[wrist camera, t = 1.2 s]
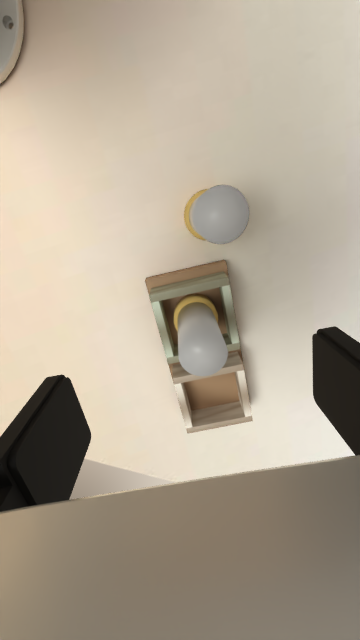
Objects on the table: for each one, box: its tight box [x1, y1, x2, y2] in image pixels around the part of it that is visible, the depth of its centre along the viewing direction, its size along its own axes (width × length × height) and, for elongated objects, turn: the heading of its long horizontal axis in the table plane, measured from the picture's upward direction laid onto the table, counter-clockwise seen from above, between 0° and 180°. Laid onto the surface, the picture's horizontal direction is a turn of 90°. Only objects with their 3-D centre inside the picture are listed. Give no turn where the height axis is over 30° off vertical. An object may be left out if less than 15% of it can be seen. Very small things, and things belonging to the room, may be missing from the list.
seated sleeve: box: [174, 293, 228, 376], centre depth 27 cm, size 5×5×10 cm
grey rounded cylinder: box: [184, 185, 249, 244], centre depth 25 cm, size 5×5×10 cm
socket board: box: [145, 260, 253, 433], centre depth 33 cm, size 20×9×4 cm, turn 13°
